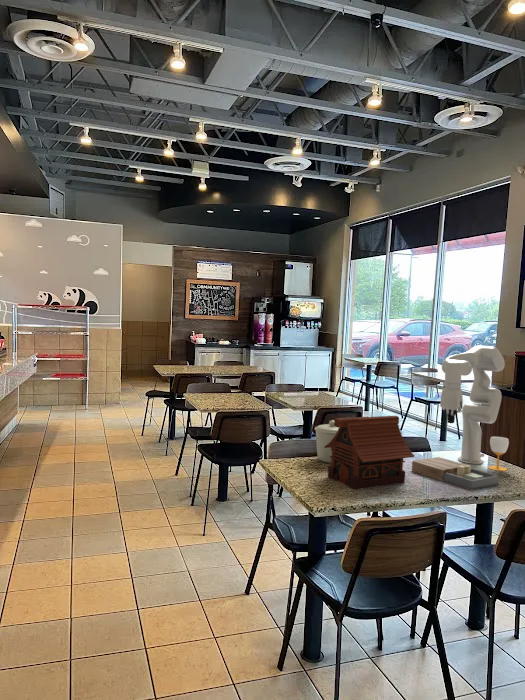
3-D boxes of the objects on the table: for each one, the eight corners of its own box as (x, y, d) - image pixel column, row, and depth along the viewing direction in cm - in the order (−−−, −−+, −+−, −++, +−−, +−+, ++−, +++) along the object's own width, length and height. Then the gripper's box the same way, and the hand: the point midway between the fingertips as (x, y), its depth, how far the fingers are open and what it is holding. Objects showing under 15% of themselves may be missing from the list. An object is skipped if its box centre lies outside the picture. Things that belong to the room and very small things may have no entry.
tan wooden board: (438, 466, 267) (438, 457, 267) (468, 475, 252) (469, 465, 252) (411, 470, 256) (412, 460, 256) (442, 480, 241) (442, 470, 241)
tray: (469, 476, 252) (470, 467, 252) (498, 484, 239) (498, 475, 239) (443, 481, 241) (443, 472, 241) (471, 490, 228) (472, 481, 228)
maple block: (465, 464, 246) (470, 466, 244) (464, 477, 246) (469, 478, 244) (457, 465, 243) (463, 467, 240) (456, 478, 243) (462, 480, 241)
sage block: (483, 476, 238) (483, 482, 238) (471, 472, 243) (471, 479, 243) (475, 477, 235) (475, 484, 235) (464, 474, 240) (463, 480, 240)
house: (373, 468, 257) (376, 410, 256) (415, 485, 232) (419, 420, 231) (314, 475, 240) (318, 413, 239) (354, 494, 215) (358, 424, 214)
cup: (503, 467, 273) (505, 436, 272) (509, 471, 264) (511, 440, 263) (485, 465, 274) (487, 435, 273) (491, 470, 265) (493, 439, 264)
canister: (342, 467, 257) (344, 425, 256) (308, 461, 265) (310, 420, 264) (352, 459, 273) (354, 420, 273) (319, 454, 281) (321, 416, 280)
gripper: (435, 384, 261) (433, 420, 262) (461, 388, 249) (459, 426, 250) (444, 384, 266) (442, 419, 267) (470, 387, 253) (468, 424, 255)
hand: (450, 422), depth 258 cm, fingers closed
